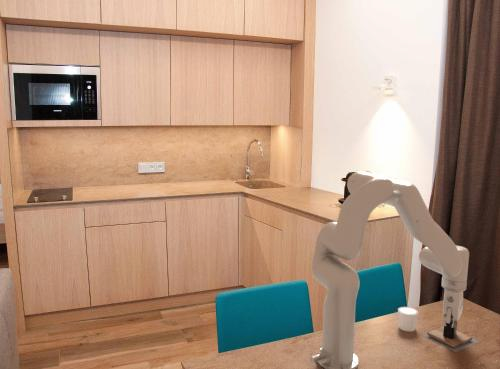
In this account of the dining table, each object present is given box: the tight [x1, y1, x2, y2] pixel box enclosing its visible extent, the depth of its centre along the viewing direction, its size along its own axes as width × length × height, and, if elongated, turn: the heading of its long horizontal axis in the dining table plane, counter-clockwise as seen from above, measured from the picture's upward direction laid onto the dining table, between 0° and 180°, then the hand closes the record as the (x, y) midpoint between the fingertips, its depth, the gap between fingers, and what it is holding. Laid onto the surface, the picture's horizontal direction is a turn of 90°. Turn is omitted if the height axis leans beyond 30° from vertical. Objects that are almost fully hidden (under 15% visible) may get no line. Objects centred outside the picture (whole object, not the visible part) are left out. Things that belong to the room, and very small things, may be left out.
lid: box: [427, 319, 473, 347], centre depth 154 cm, size 10×10×6 cm
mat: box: [421, 332, 480, 353], centre depth 154 cm, size 13×13×1 cm
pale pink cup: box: [397, 306, 419, 332], centre depth 162 cm, size 7×7×7 cm
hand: (449, 334), depth 154 cm, fingers closed on lid, 4 cm apart
